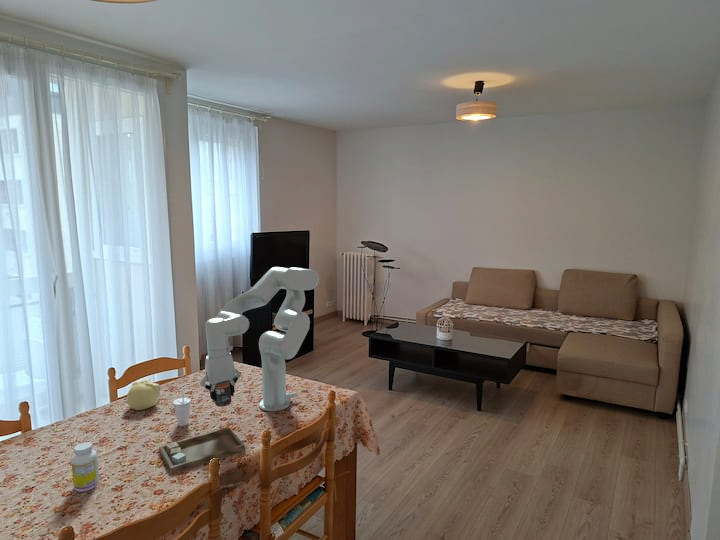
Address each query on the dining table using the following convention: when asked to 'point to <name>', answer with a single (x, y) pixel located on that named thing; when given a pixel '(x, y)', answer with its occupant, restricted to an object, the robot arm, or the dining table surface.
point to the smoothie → (182, 410)
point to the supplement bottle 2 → (223, 393)
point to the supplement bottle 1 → (84, 467)
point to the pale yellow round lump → (143, 395)
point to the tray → (204, 448)
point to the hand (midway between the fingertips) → (222, 397)
